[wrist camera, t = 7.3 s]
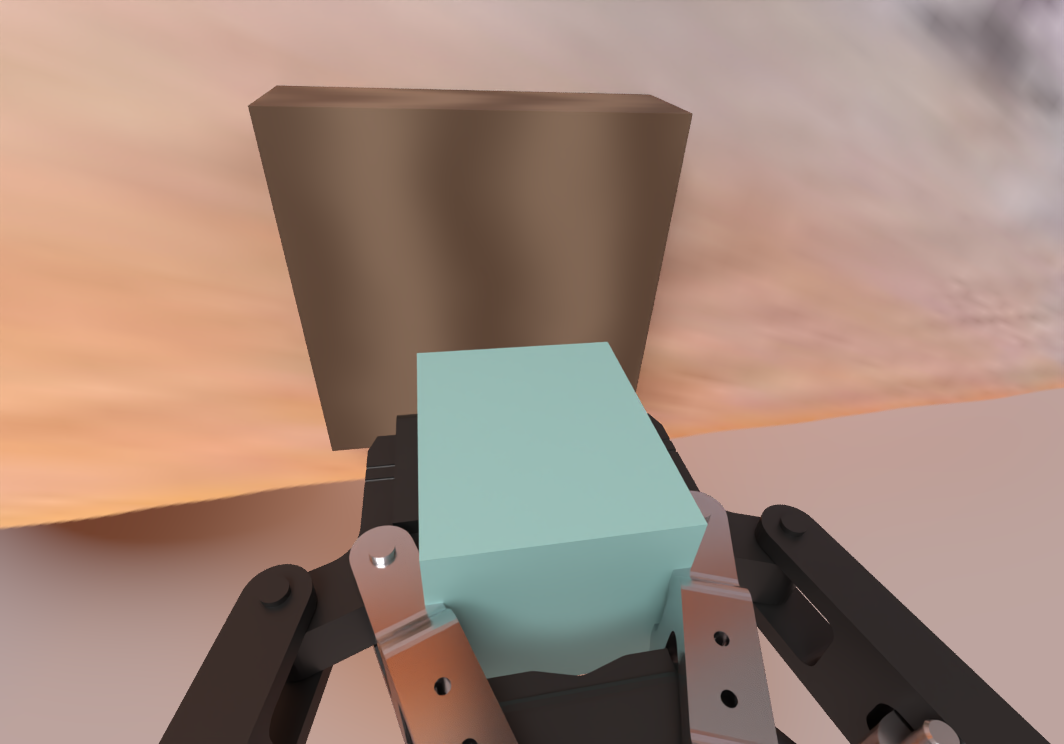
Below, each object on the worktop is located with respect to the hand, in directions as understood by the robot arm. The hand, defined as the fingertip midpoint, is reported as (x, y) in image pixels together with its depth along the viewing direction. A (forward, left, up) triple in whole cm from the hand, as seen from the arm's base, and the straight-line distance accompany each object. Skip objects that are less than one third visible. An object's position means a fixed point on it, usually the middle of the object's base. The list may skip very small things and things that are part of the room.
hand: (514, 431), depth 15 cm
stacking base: (0, 0, -11) cm, 11 cm away
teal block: (0, 0, 0) cm, 0 cm away
